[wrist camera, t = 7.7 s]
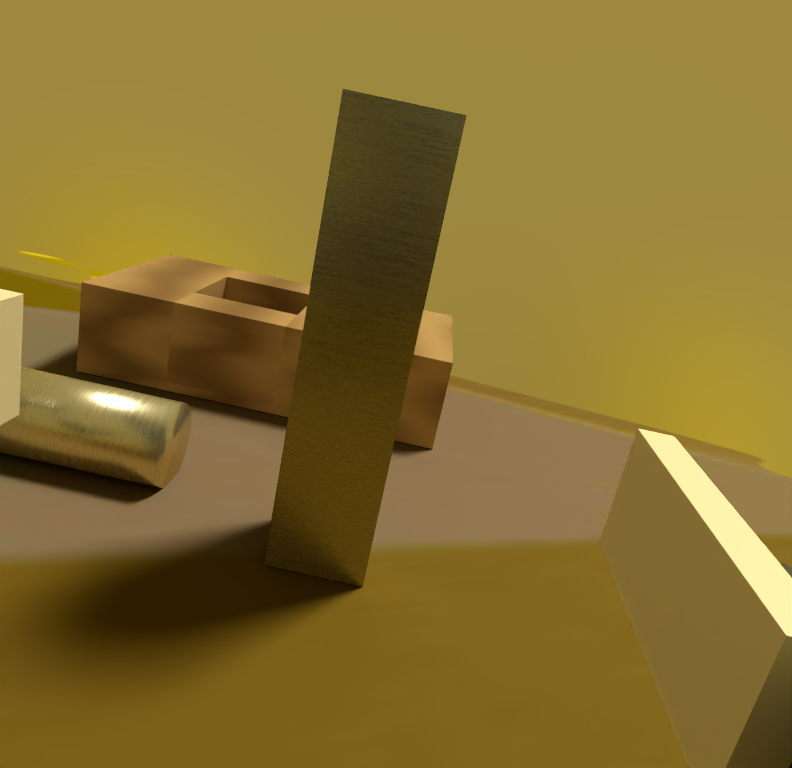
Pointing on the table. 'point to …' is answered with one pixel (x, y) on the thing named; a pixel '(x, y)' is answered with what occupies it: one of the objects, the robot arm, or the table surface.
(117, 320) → the holder block
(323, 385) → the square bit
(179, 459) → the round bit
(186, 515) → the table surface
